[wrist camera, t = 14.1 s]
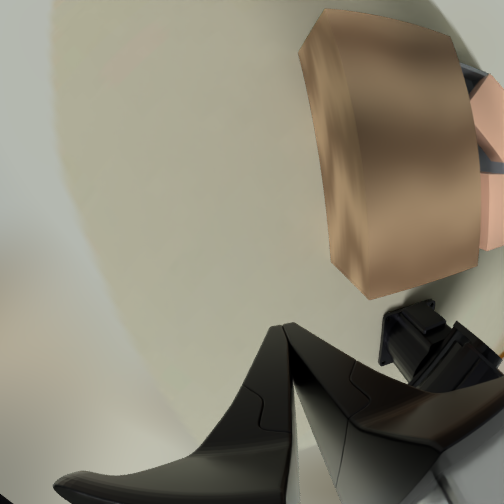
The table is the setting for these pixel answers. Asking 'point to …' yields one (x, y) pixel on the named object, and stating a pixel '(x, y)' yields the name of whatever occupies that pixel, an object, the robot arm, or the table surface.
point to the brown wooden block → (393, 150)
